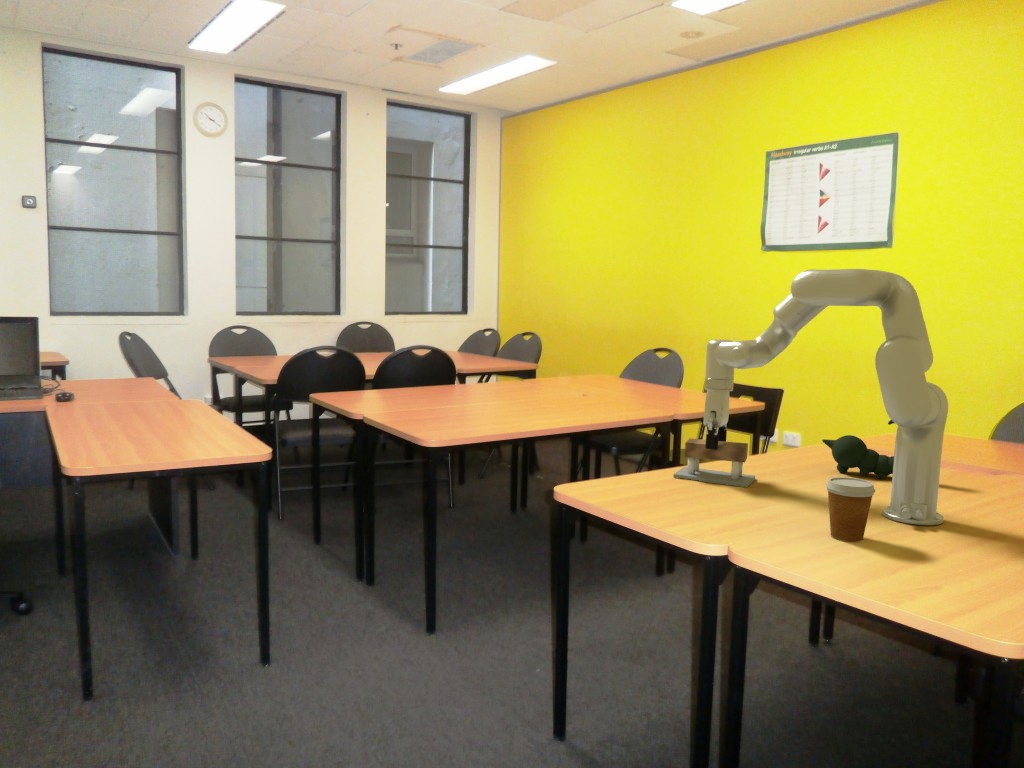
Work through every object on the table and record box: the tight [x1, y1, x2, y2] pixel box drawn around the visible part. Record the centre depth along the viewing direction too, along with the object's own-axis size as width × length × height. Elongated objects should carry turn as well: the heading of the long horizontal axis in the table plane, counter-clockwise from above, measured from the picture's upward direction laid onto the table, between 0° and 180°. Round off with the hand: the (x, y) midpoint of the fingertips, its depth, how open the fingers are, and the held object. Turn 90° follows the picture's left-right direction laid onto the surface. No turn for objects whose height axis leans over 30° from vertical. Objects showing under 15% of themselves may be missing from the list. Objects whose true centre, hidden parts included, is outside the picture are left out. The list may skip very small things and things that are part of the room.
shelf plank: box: [684, 437, 749, 463], centre depth 211 cm, size 16×7×4 cm, turn 68°
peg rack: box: [673, 457, 756, 488], centre depth 211 cm, size 11×20×6 cm, turn 62°
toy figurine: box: [821, 419, 895, 480], centre depth 218 cm, size 9×19×25 cm
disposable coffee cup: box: [825, 476, 876, 543], centre depth 160 cm, size 10×10×12 cm
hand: (715, 446), depth 211 cm, fingers open, 9 cm apart
